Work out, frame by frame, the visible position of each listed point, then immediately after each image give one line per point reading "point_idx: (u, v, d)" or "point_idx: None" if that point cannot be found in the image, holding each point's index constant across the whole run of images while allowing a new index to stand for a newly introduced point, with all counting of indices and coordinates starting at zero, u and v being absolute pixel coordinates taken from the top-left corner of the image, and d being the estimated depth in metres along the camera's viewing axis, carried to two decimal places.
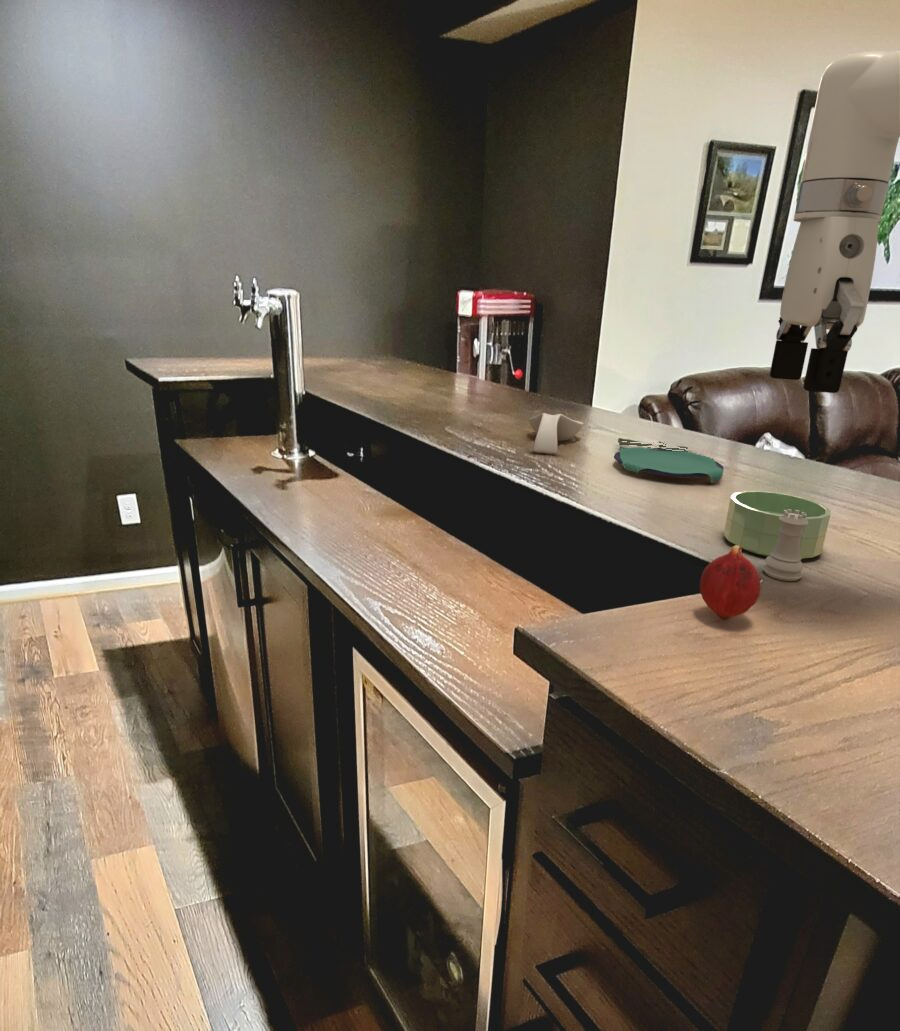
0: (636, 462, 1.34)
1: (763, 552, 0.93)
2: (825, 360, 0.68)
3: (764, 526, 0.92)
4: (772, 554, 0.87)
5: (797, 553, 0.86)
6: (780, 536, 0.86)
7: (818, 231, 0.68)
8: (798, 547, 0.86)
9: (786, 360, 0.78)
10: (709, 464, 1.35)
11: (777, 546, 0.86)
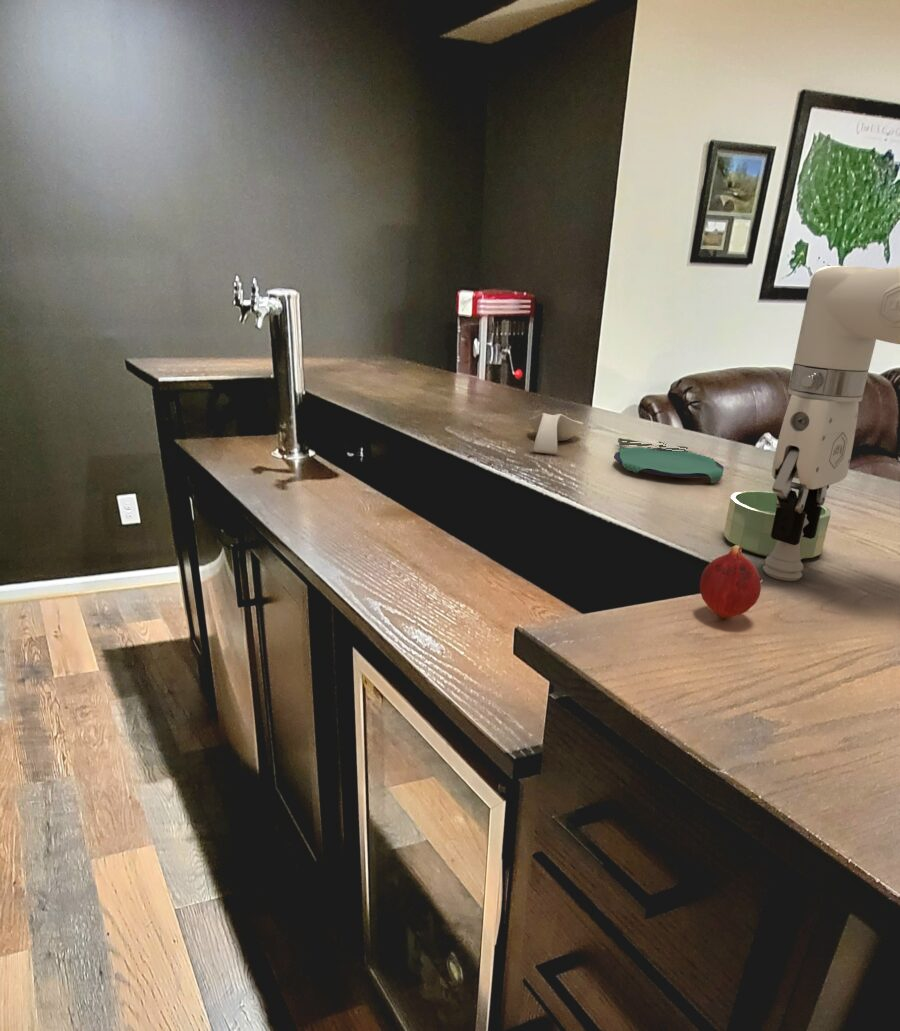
0: (636, 462, 1.34)
1: (763, 552, 0.93)
2: (781, 517, 0.84)
3: (764, 526, 0.92)
4: (772, 554, 0.87)
5: (797, 553, 0.86)
6: None
7: None
8: (798, 547, 0.86)
9: None
10: (709, 464, 1.35)
11: (777, 546, 0.87)
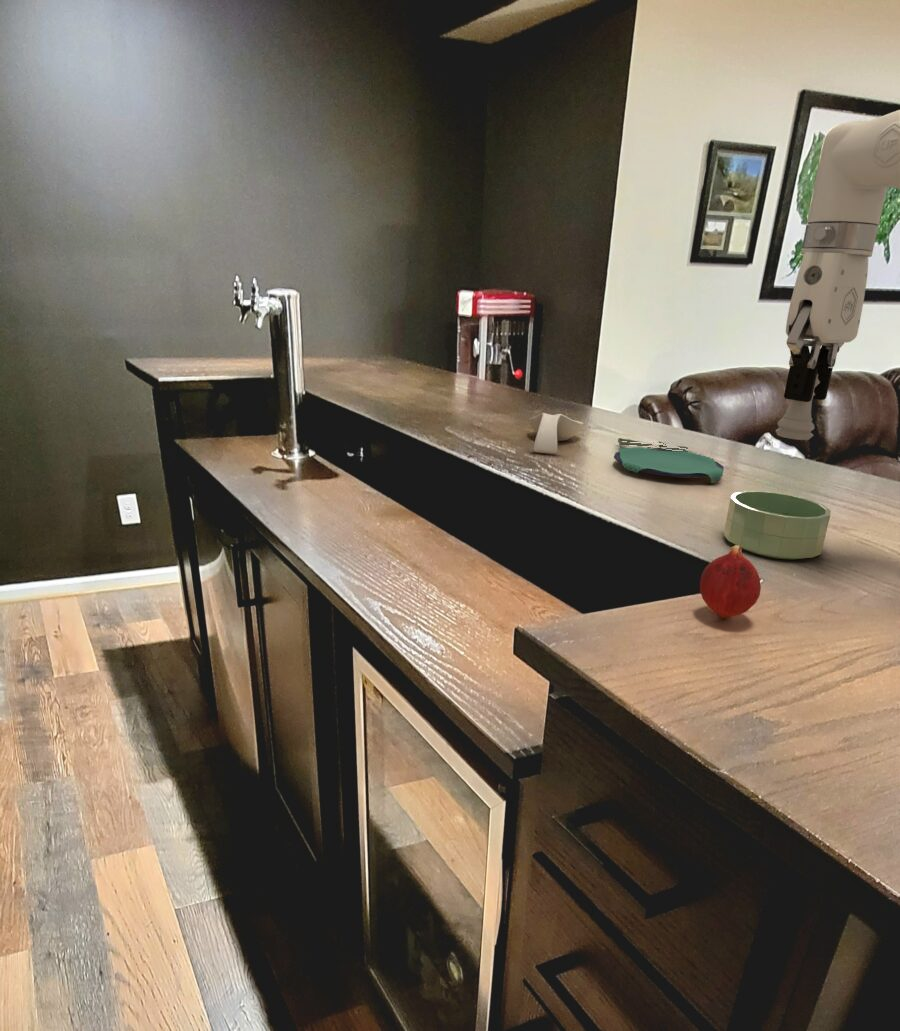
0: (636, 462, 1.34)
1: (763, 552, 0.93)
2: (794, 375, 0.87)
3: (764, 526, 0.92)
4: (785, 415, 0.91)
5: (809, 412, 0.90)
6: None
7: None
8: (810, 407, 0.90)
9: None
10: (709, 464, 1.35)
11: (789, 407, 0.90)
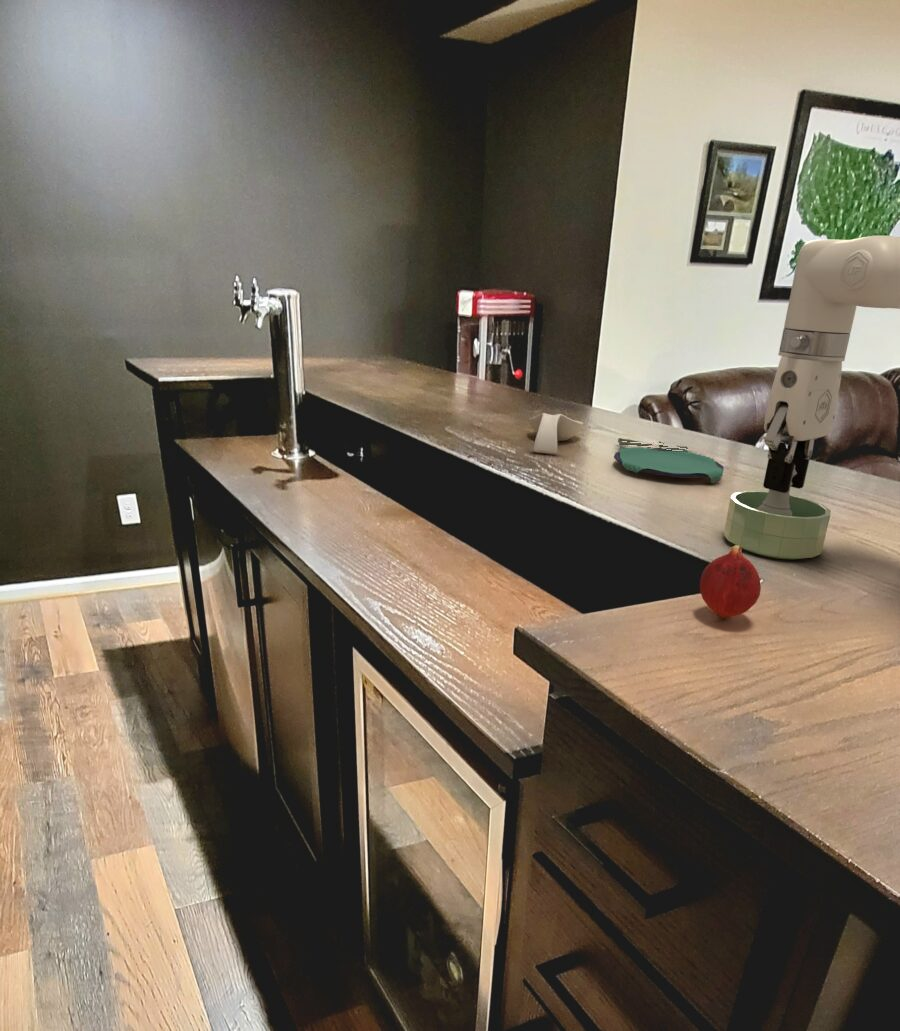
0: (636, 462, 1.34)
1: (763, 552, 0.93)
2: (772, 467, 0.93)
3: (764, 526, 0.92)
4: (764, 502, 0.96)
5: (787, 501, 0.95)
6: None
7: None
8: (787, 495, 0.95)
9: None
10: (709, 464, 1.35)
11: (769, 495, 0.96)
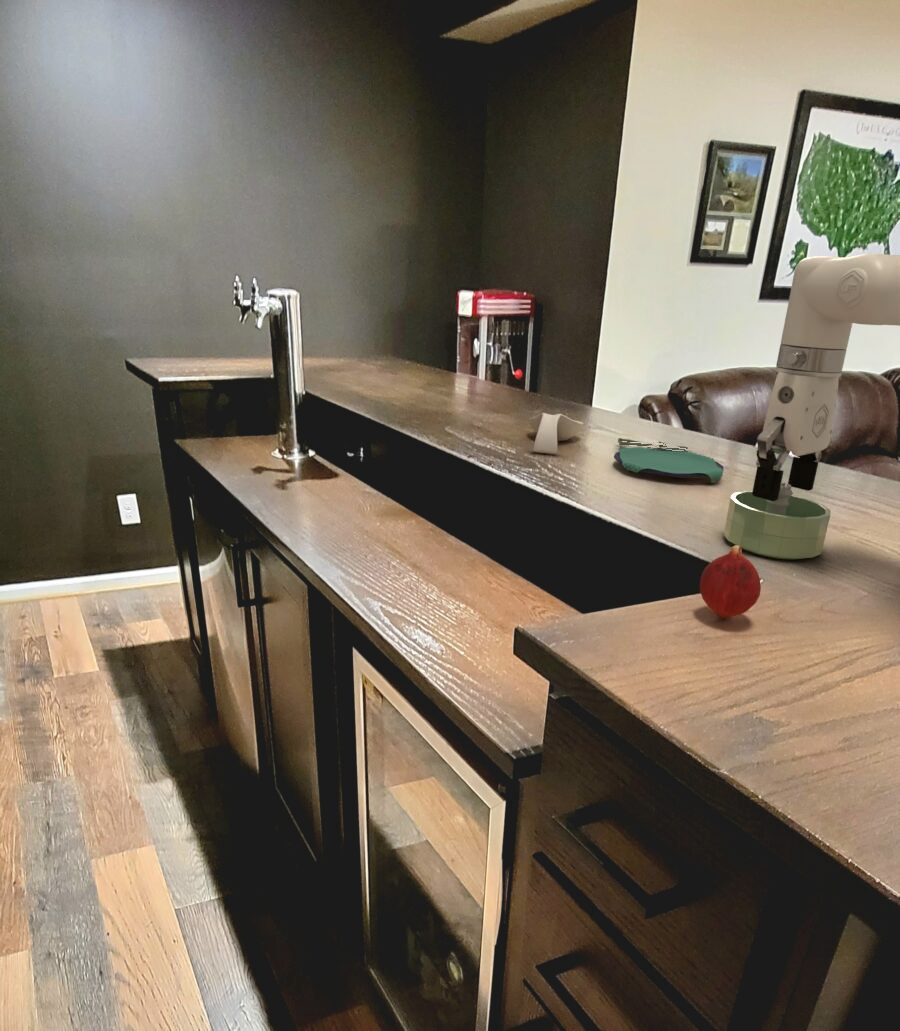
0: (636, 462, 1.34)
1: (763, 552, 0.93)
2: (761, 475, 0.91)
3: (764, 526, 0.92)
4: None
5: None
6: (768, 506, 0.96)
7: None
8: (784, 515, 0.96)
9: (798, 473, 0.98)
10: (709, 464, 1.35)
11: None
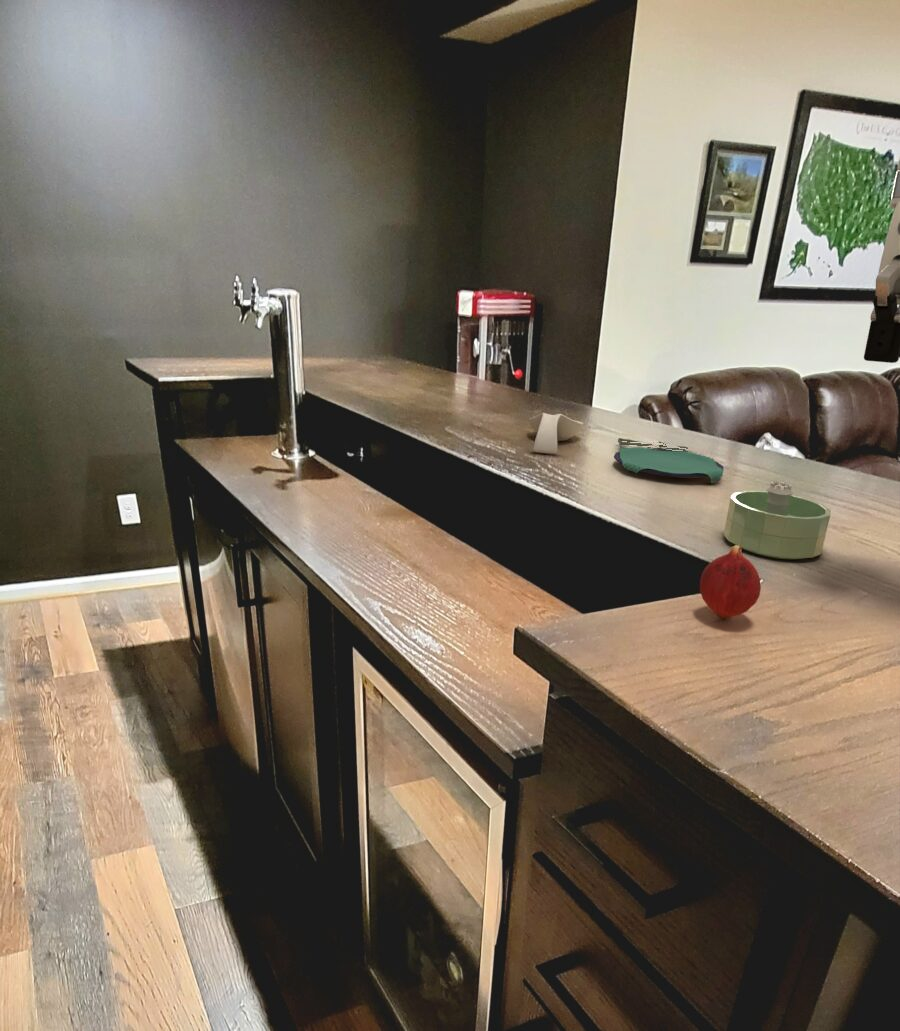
0: (636, 462, 1.34)
1: (763, 552, 0.93)
2: (877, 331, 0.74)
3: (764, 526, 0.92)
4: None
5: None
6: (768, 506, 0.96)
7: None
8: (784, 515, 0.96)
9: None
10: (709, 464, 1.35)
11: None
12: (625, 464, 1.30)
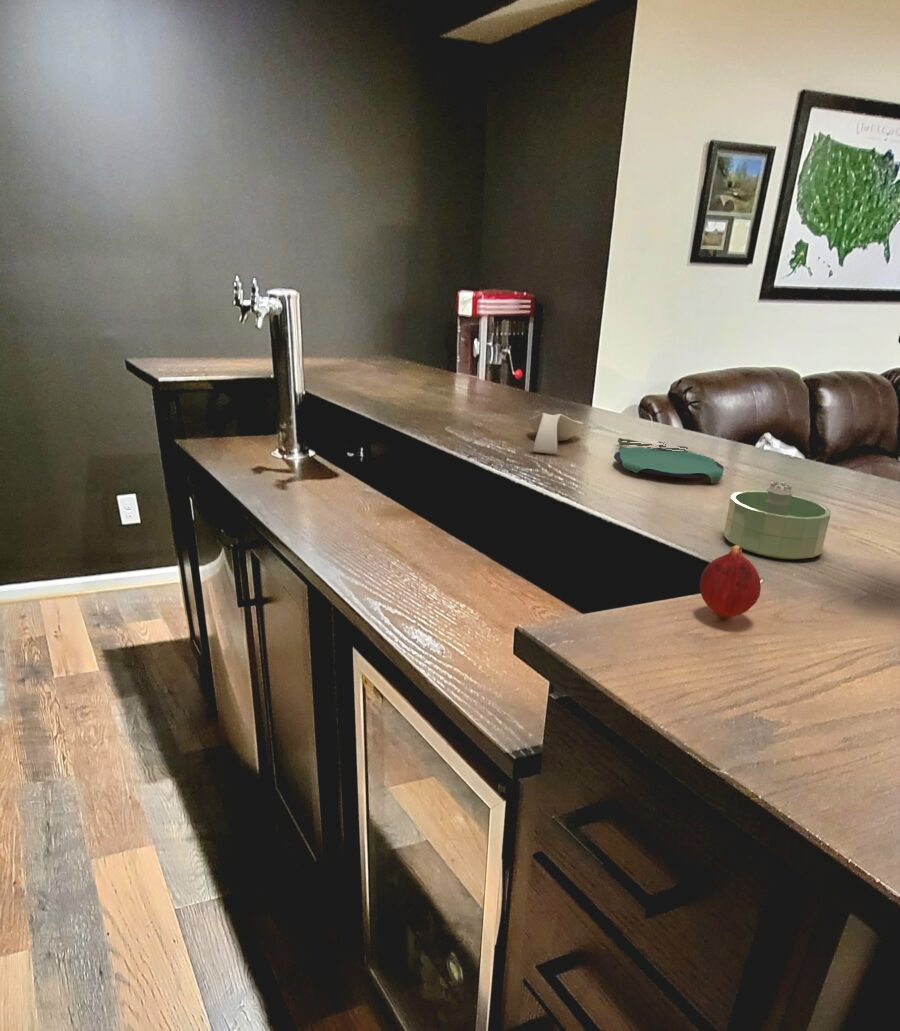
0: (636, 462, 1.34)
1: (763, 552, 0.93)
2: None
3: (764, 526, 0.92)
4: None
5: None
6: (768, 506, 0.96)
7: None
8: (784, 515, 0.96)
9: None
10: (709, 464, 1.35)
11: None
12: (625, 464, 1.30)
